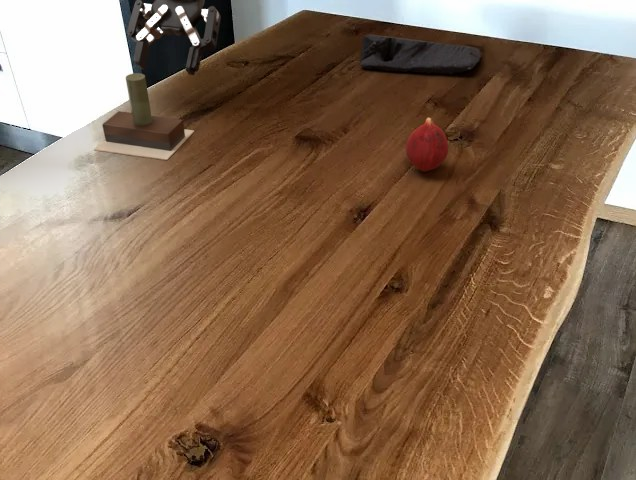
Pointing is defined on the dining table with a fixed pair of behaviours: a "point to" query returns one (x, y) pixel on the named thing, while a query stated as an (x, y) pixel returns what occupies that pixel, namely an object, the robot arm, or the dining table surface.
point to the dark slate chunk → (416, 55)
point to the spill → (141, 149)
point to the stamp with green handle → (142, 121)
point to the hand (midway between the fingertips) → (164, 70)
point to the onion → (427, 146)
